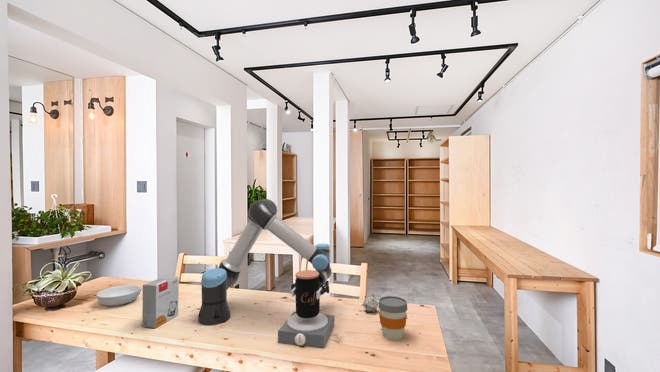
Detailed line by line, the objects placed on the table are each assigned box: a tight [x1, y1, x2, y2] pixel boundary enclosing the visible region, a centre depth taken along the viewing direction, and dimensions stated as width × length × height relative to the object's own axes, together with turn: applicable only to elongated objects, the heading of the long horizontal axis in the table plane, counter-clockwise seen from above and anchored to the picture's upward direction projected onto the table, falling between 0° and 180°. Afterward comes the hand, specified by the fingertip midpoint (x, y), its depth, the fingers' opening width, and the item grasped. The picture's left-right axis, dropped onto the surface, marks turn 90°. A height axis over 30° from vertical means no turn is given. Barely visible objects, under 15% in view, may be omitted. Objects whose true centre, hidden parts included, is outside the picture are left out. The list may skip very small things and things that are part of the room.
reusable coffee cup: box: [377, 295, 408, 341], centre depth 136 cm, size 13×12×15 cm
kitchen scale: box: [277, 311, 335, 349], centre depth 137 cm, size 20×21×6 cm
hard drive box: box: [141, 275, 180, 329], centre depth 151 cm, size 16×8×20 cm, turn 166°
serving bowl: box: [96, 284, 142, 306], centre depth 175 cm, size 21×21×7 cm
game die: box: [361, 294, 379, 314], centre depth 161 cm, size 9×8×10 cm
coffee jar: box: [294, 269, 321, 318], centre depth 137 cm, size 11×11×18 cm
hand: (304, 294), depth 133 cm, fingers closed on coffee jar, 11 cm apart
